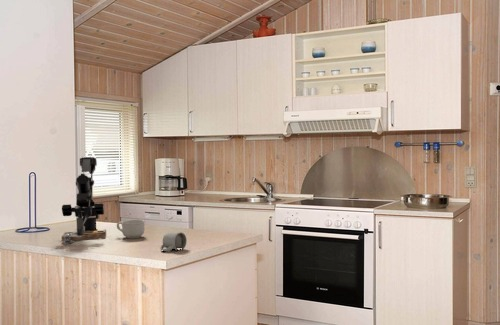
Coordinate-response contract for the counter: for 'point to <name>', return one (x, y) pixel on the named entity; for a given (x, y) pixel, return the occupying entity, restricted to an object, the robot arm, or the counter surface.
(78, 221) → the lever
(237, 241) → the counter surface
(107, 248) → the counter surface
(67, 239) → the pivot post
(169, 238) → the ceramic mug
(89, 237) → the lane
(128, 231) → the teacup
